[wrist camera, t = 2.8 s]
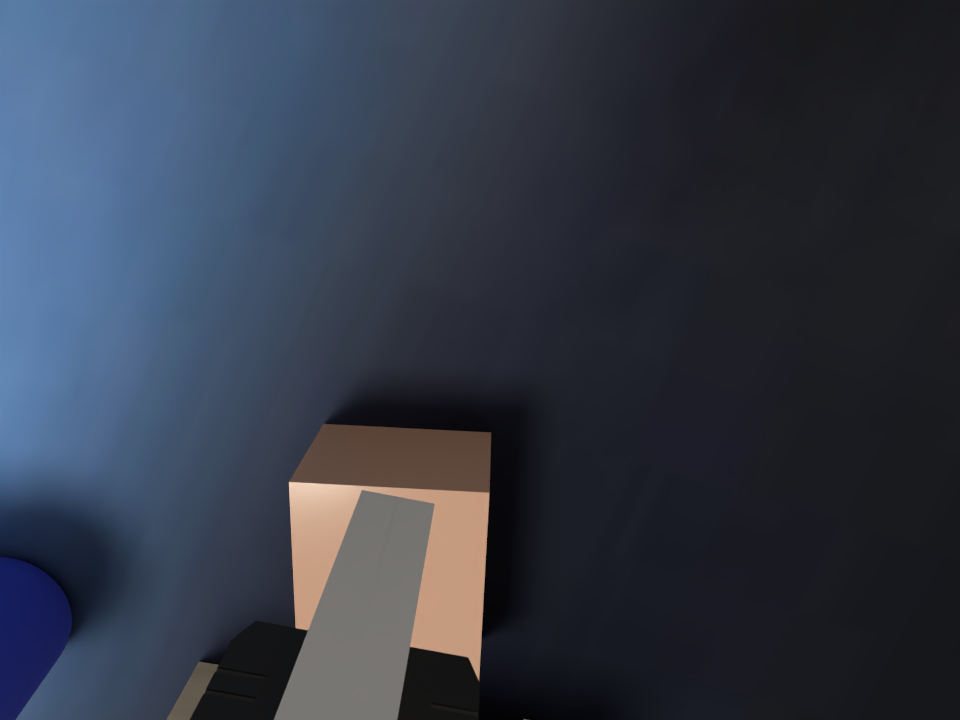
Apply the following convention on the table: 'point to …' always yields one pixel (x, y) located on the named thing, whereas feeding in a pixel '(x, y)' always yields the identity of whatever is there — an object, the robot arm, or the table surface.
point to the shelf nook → (194, 692)
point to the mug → (28, 631)
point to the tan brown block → (408, 474)
